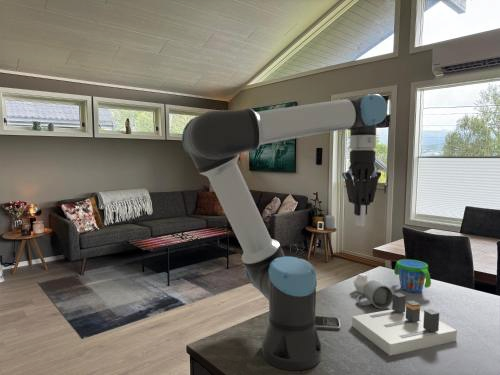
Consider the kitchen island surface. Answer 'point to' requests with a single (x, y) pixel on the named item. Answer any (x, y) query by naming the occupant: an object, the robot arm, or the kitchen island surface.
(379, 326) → the panel
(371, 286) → the ceramic mug
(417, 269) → the snack cup
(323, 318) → the cell phone
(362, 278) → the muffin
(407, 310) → the block
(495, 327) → the kitchen island surface
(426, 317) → the block
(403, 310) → the block
